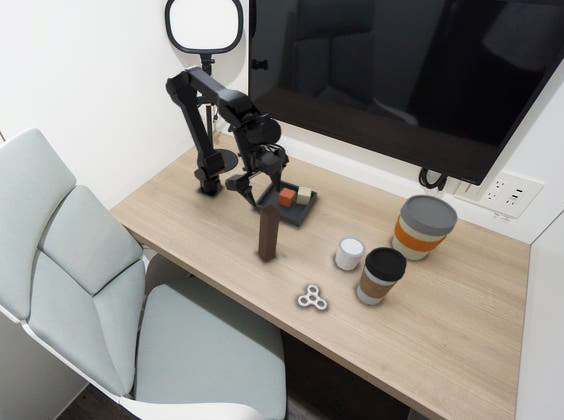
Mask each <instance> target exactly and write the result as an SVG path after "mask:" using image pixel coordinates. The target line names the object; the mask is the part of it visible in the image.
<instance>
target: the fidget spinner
mask: <svg viewBox="0 0 564 420" xmlns="http://www.w3.org/2000/svg"><path fill="white" fill-rule="evenodd" d="M311 289H314V290H315V292H314V291H313V292H312V291H311ZM306 291H307V294H305V295H300V296H299V297H298V299H297V302H298V304H299V305H300V306H301V307H308V306H310V305H313V306H315V308H317V309H318V310H320V311H324V310H325V309H327V307H328V303H327V301H326V300H325V299H324V298H321V297H320V295H319V291H320V290H319V288H318V286H317V285H315V284H310V285H308V286H307V288H306ZM310 297H314V298H315V300H312V299H311V298H310ZM302 299H304V300H306V303H303V302H302ZM319 302H321V303H323V306H319V304H318V303H319Z"/></svg>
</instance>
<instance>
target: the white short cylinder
mask: <svg viewBox="0 0 564 420" xmlns="http://www.w3.org/2000/svg"><path fill="white" fill-rule="evenodd" d="M365 252H366V245H365V244H364V243H363V242H362V241H361V240H360V239H359V238H357V237H354V236H344V237H342V238H340V239H339V241H338V243H337V248H336V253H335V257H334V258H335V259H334V260H335V262H334V263H335V264H336V266H337V267H338V268H339V269H341V270H344V271H352V270H354V269H355V268H356V267H357V265H358V264H359V262H360V261H361V259H362V257H363V256H364V254H365Z"/></svg>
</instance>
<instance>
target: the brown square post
mask: <svg viewBox="0 0 564 420" xmlns="http://www.w3.org/2000/svg"><path fill="white" fill-rule="evenodd" d="M259 214H260V215H259V231H258V246H257V255H259V257H260V258H261V259H262V261H263V262H264V263H267V262H268V261H270V260H272V259H274V258H275V257H276V253H277V252H276V251H277V246H278V245H277V243H278V236H279V228H280V221H281V220H280V211H279V210H278V209H277V208H276V207H275V206H274V205H273V204H271V205H269V206H266V207H264V208H262V209H261V211H260V213H259Z"/></svg>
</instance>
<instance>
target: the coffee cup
mask: <svg viewBox="0 0 564 420" xmlns="http://www.w3.org/2000/svg"><path fill="white" fill-rule="evenodd" d="M407 260H408V259H406V258H405V257H404V256H403V254H401V253H400V252H399V251H397V250H395V249H394V248H393V247H388V246H379V247H376V248H373V249H371V250H370V252H369V253H367V255H366V256H365V259H364V264H363V268H362V271H361V275H360V278H359V282H358V285H357V288H356V295H357V297H358V299H359V300H360V301H361V302H362V303H364V304H366V305H370V306H374V305H378V304H379V303H380V302H381V301H382V300H383V299H384V297H386V295H387V294H389V293H390V291H391V290H392V289H393V288H394V287H395V285H396V284H397V283H398V282H399V281H400V280H401V279H403V278H404V275H405V274H406V269H407V265H408V261H407Z"/></svg>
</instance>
